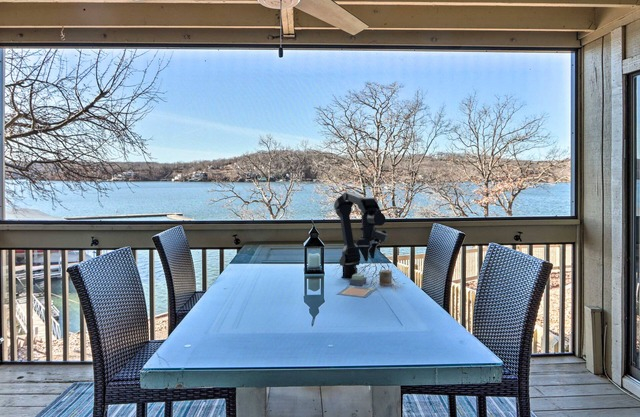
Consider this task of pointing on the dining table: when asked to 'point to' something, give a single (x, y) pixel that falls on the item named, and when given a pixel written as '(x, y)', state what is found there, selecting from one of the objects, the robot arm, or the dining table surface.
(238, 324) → the dining table surface
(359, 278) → the button
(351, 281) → the button housing
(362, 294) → the picture mat
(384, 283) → the block
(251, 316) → the dining table surface
